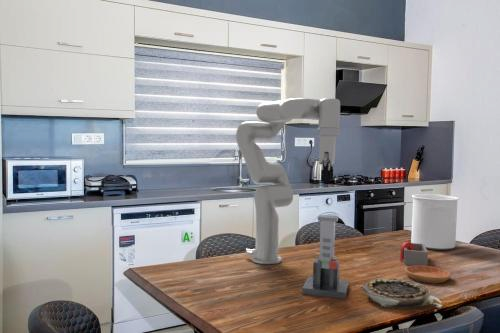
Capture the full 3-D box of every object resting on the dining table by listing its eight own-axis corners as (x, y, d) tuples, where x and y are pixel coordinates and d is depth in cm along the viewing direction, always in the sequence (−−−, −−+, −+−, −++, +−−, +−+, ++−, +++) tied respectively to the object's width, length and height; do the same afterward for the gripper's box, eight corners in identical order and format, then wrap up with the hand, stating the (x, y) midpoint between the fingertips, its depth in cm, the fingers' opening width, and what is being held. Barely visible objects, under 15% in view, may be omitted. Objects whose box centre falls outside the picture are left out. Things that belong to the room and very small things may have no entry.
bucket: (466, 252, 216) (469, 200, 215) (419, 251, 217) (422, 199, 215) (444, 240, 242) (446, 194, 241) (402, 239, 242) (404, 193, 241)
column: (316, 267, 156) (317, 217, 155) (317, 264, 161) (319, 214, 160) (335, 269, 154) (337, 218, 153) (336, 265, 159) (338, 216, 158)
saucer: (448, 275, 180) (449, 267, 179) (452, 287, 165) (452, 279, 164) (405, 270, 185) (405, 263, 185) (404, 282, 170) (404, 274, 170)
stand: (302, 293, 153) (303, 260, 153) (308, 281, 167) (309, 250, 166) (345, 298, 150) (346, 264, 149) (348, 285, 163) (349, 254, 162)
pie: (460, 312, 141) (461, 296, 141) (382, 321, 133) (382, 304, 133) (404, 284, 168) (405, 270, 168) (336, 290, 160) (336, 276, 160)
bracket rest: (404, 264, 193) (404, 250, 193) (402, 255, 208) (402, 242, 208) (427, 266, 191) (427, 252, 190) (423, 257, 206) (424, 243, 206)
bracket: (408, 263, 195) (409, 244, 194) (399, 260, 198) (401, 242, 198) (427, 260, 201) (428, 242, 200) (418, 258, 205) (420, 240, 204)
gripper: (321, 133, 176) (319, 178, 177) (315, 132, 160) (313, 182, 161) (341, 133, 174) (339, 179, 175) (337, 133, 158) (335, 183, 159)
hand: (327, 180), depth 168 cm, fingers open, 9 cm apart
